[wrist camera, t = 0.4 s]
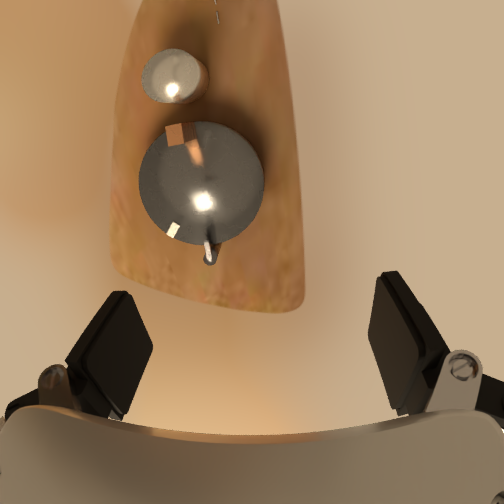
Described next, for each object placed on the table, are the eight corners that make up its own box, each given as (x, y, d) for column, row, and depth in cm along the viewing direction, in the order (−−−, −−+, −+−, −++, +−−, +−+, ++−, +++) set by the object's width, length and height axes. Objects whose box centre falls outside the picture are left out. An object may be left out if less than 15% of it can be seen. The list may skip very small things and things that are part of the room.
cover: (159, 65, 27) (138, 57, 21) (206, 54, 26) (193, 42, 21) (164, 108, 29) (145, 108, 24) (212, 98, 29) (200, 95, 24)
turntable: (135, 135, 30) (106, 142, 24) (256, 112, 28) (253, 111, 22) (159, 243, 37) (140, 269, 31) (269, 232, 35) (270, 260, 29)
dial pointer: (206, 228, 37) (199, 242, 33) (218, 227, 37) (212, 241, 33) (210, 249, 38) (204, 265, 34) (222, 248, 38) (217, 264, 34)
